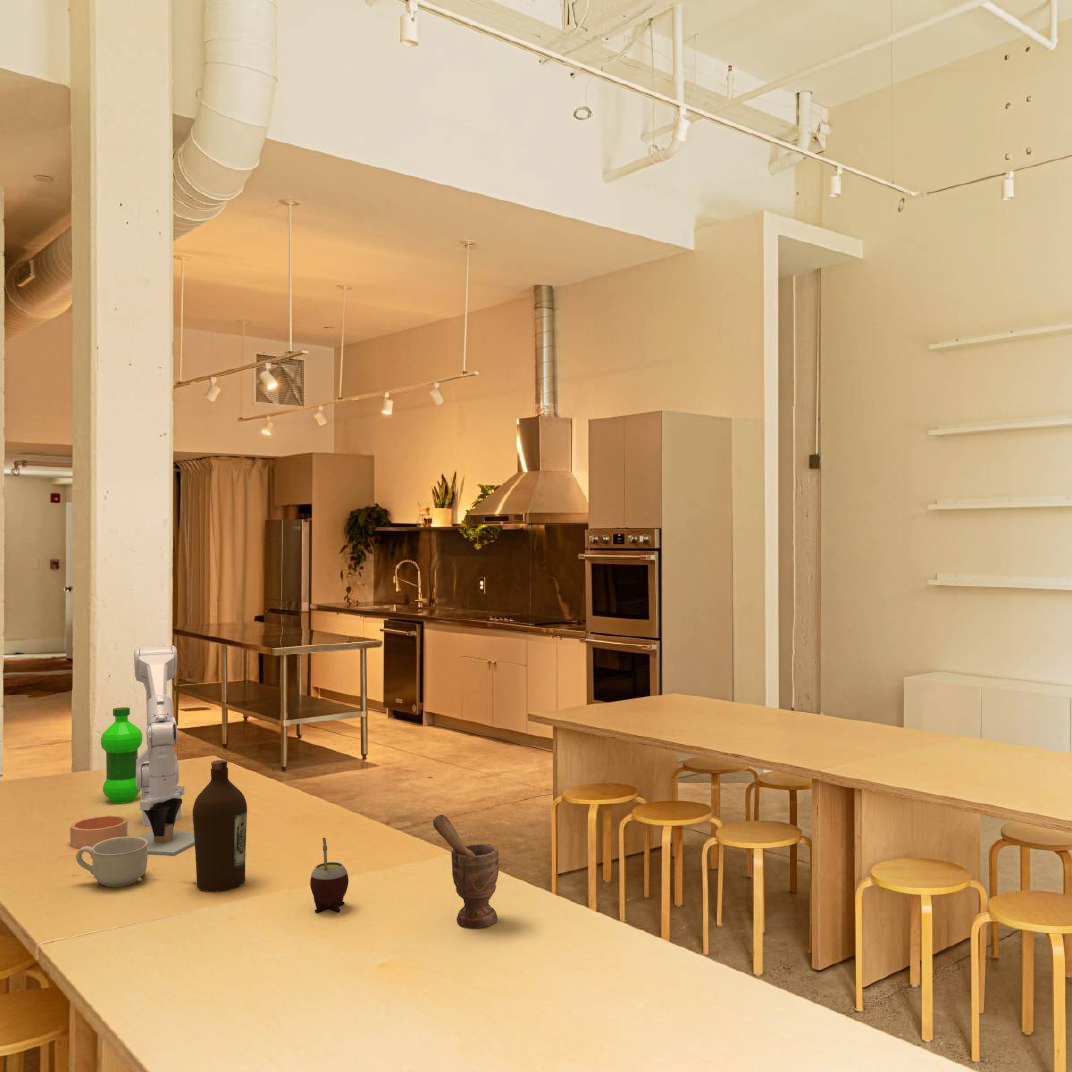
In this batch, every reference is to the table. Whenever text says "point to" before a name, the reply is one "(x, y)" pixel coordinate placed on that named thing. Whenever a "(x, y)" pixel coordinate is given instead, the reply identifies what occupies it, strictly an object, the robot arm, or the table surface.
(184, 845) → the lid
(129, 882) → the teacup
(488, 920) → the mortar and pestle
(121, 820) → the bowl
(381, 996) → the table surface
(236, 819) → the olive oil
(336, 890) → the mate gourd
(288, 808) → the table surface
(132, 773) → the plastic bottle
